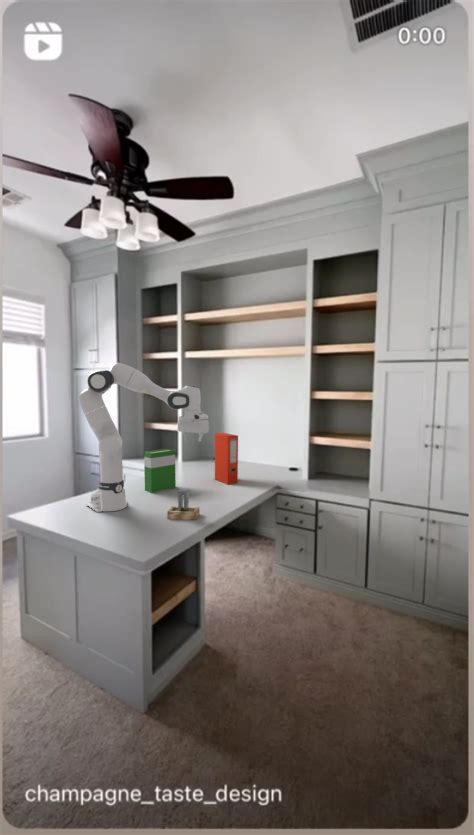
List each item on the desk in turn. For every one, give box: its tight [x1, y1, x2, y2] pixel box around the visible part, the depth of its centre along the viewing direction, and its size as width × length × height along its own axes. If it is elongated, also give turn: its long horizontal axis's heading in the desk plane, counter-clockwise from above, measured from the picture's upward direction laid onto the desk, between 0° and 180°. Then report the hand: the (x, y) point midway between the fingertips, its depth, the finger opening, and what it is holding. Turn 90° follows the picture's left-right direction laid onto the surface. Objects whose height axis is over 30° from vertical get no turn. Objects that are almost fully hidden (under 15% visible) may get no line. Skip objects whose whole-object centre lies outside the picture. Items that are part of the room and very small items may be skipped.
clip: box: [177, 488, 190, 511], centre depth 181 cm, size 4×4×12 cm
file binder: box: [214, 432, 239, 486], centre depth 250 cm, size 8×17×32 cm, turn 32°
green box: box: [143, 448, 176, 494], centre depth 230 cm, size 18×7×24 cm, turn 135°
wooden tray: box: [166, 506, 200, 520], centre depth 181 cm, size 14×8×4 cm, turn 84°
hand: (192, 440), depth 202 cm, fingers open, 8 cm apart
